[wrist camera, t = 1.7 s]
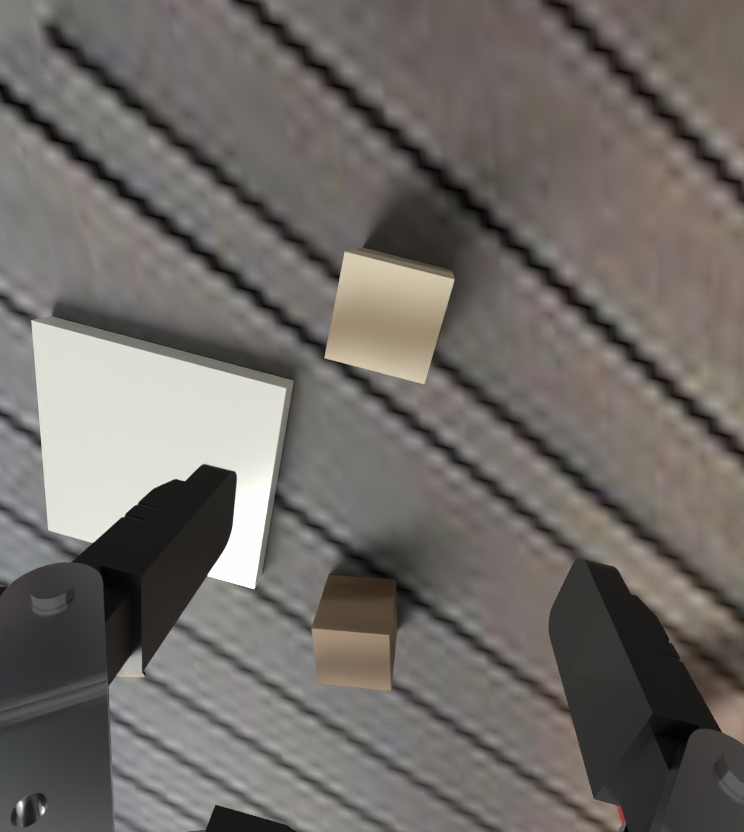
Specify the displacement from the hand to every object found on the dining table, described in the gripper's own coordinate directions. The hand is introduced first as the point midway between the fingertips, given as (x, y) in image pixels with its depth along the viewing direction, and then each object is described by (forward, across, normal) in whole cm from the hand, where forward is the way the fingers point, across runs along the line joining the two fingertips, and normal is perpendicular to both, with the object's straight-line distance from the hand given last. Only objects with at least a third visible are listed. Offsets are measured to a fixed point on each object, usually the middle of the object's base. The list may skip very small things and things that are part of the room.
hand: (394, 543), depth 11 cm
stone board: (+17, +15, +11) cm, 26 cm away
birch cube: (+17, +2, -3) cm, 18 cm away
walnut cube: (+17, 0, +20) cm, 26 cm away
